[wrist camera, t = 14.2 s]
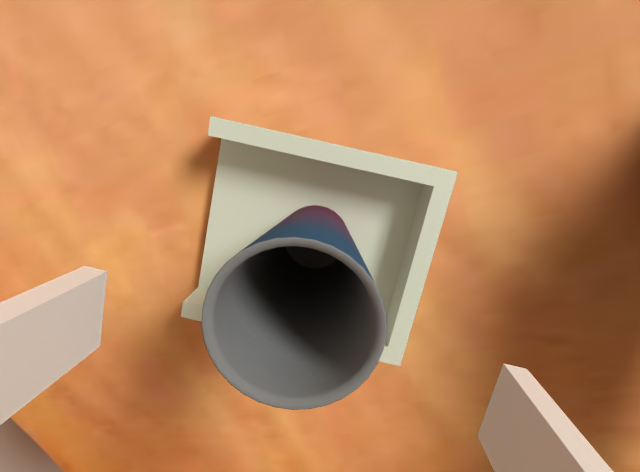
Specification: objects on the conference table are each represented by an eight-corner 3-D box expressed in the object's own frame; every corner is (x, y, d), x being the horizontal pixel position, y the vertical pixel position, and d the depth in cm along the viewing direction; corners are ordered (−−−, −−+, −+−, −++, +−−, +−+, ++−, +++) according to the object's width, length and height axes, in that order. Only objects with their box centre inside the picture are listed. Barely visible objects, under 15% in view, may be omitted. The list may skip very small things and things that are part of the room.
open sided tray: (228, 120, 28) (210, 115, 24) (441, 169, 28) (457, 171, 24) (200, 296, 31) (180, 317, 27) (392, 339, 31) (400, 366, 27)
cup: (279, 183, 28) (217, 217, 13) (370, 204, 28) (409, 261, 13) (261, 270, 29) (188, 388, 15) (348, 290, 29) (361, 427, 15)
